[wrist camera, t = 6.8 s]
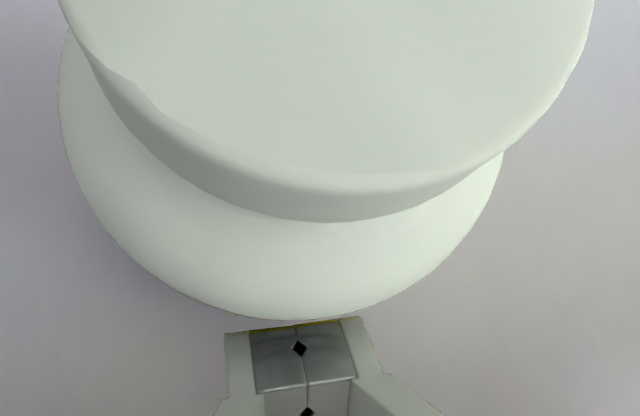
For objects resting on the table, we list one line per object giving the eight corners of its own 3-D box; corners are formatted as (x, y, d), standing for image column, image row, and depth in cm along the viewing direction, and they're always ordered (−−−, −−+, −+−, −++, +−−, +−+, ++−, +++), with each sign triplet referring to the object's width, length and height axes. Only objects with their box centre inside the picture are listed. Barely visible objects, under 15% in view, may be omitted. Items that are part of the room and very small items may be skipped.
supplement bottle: (221, 81, 17) (188, -517, 5) (393, 172, 18) (776, -169, 5) (116, 256, 16) (-357, 30, 3) (308, 353, 16) (570, 495, 3)
